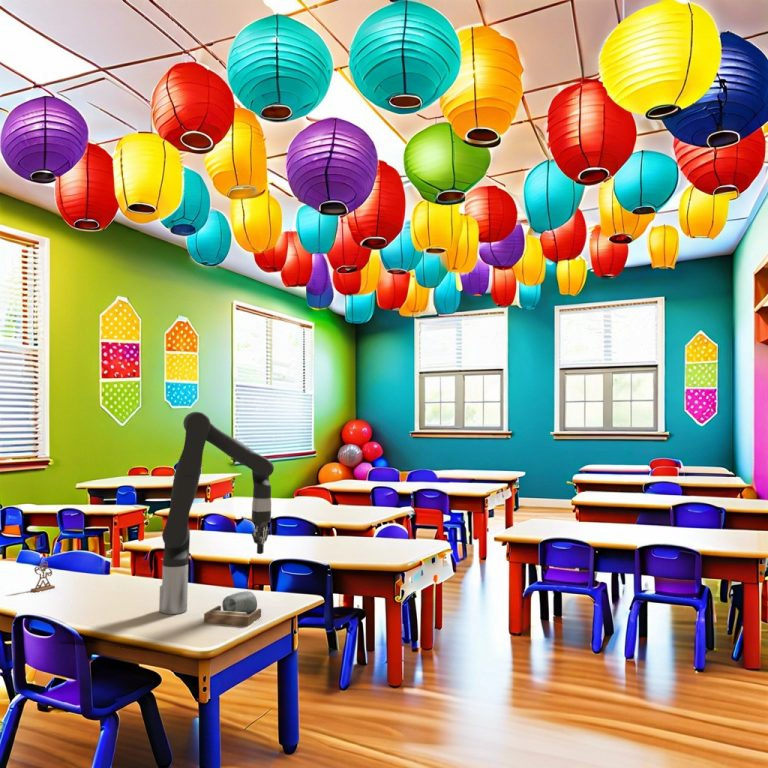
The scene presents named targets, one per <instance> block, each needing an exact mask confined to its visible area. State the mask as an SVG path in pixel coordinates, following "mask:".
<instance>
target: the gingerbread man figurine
mask: <svg viewBox="0 0 768 768" xmlns="http://www.w3.org/2000/svg"><path fill="white" fill-rule="evenodd" d="M44 562H45V563H44ZM48 566H49V564H48V561H46V560H42V561H41V562H40V563H39V566H35V567H34V573H35V574H36V575H39V579H38V581H37V583H36V585H35V587H34V588H30V592H31V593H35V592H37V593H41V592H45V591H50V590H52V589H55V588H56V586H55V585H52V584H51V583H50V581H49V579H48V577H51V576H52V575H53V570H52V569H51V568H48ZM47 569H48V570H49V572H48V571H47ZM38 571H41V573H38ZM46 571H47V572H46ZM44 579H45V580H46V582H47V583H46V582H45V580H44ZM41 580H42V581H41ZM40 582H41V583H40ZM42 585H43V586H42ZM40 591H41V592H40Z"/></svg>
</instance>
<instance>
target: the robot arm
mask: <svg viewBox="0 0 768 768" xmlns="http://www.w3.org/2000/svg"><path fill="white" fill-rule="evenodd" d="M183 428H184V430H185V437H184V445H183V449H182V452H181V454H180V457H179V459H178V462H177V464H176V468H175V470H174V477H173V481H172V486H171V487H172V488H171V493H170V494H171V495H170V506H169V511H168V515H167V519H166V522H165V525H164V528H163V531H162V537H161V538H162V541H163V543H164V547H163V556H162V579H161V581H162V582H161V585H160V586H159V607H158V610H159V611H158V612H159V613H162V614H166V615H178V614H183V613H185V612H187V611H188V588H189V557H190V542H191V540H190V539H191V537H190V536H191V532H190V527H189V520H190V519H189V518H190V517H189V516H190V512H191V509H192V506H193V503H194V500H195V498H196V496H197V495H196V494H197V491H198V488H199V481H200V477H201V470H202V464H203V453H204V448H205V445H206V442H208V443H210V444H211V445H212V446H215V447H216V448H217V449H219V451H221V452H223V453H224V454H225V455H227V456H228V457H230V459H233V460H234V461H236V462H237V463H239V464H240V465H243V466H245V467H247V468H248V469H250V470H251V472H252V473H251V475H252V476H251V477H252V483H253V490H252V501H251V503H252V504H251V522H253V523H255V524H254V531H252V532H251V537H252V540H253V542H254V544H256V554H258V555H262V554H264V548H265V547H264V545H265V542H267V540H268V536H269V533H270V531H271V529H270V528H271V527H268V523H270V522H271V520H272V485H271V484H270V476H271V475H272V474H273V473H274V470H275V467H274V464H273V463H272V460H269V459H268V458H267V457H265V456H262V455H261V454H259V453H257V452H255V451H254V450H253V449H252V448H250V447H249V446H247V445H245V444H244V443H243V442H241V441H240V440H238V439H236V438H234V437H233V436H231V435H229V434H227V433H225V432H224V431H222V430H220V429H219V428H218V427H216V426H215V425H214V424H213V423H212V422H211V420H210V418H209V416H208V415H207V414H205V413H204V412H202V411H201V412H199V411H193V412H192V411H191V412H190V413H188V414H187V415H186V416H185V417H184V419H183Z"/></svg>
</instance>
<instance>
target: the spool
mask: <svg viewBox="0 0 768 768" xmlns="http://www.w3.org/2000/svg"><path fill="white" fill-rule="evenodd" d="M221 608H222V611H232V612H245V613H247V614H251V613H253V612H254V611H256V610H257V609H258V601H257V596H256V595H255V593H253V592H252V591H245V590H244V591H238V592H236V593H231V594H230V595H227V596H226V597H224V598H223V600H222V604H221Z"/></svg>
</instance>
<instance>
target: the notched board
mask: <svg viewBox="0 0 768 768" xmlns="http://www.w3.org/2000/svg"><path fill="white" fill-rule="evenodd" d="M260 617H261V618H262V608H257V609H256V610H255V611H254V612H251V613H245V612H232V611H223V610H222V605H217V606H216V607H213V608H211V609H210V610H208V611H206V612H205V613H204V614H203V623H209V624H220V625H234V626H243V627H244V626H247V627H248V626H251V624H254V623H255V622H257V619H258V620H259V619H261V618H260ZM254 621H255V622H254Z"/></svg>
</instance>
